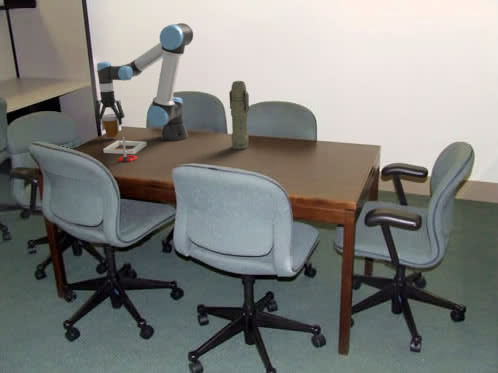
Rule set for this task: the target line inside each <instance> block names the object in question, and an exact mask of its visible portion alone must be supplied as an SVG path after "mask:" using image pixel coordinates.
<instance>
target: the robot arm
mask: <svg viewBox="0 0 498 373" xmlns="http://www.w3.org/2000/svg"><path fill="white" fill-rule="evenodd" d="M193 40H194V31H193V29H192V27H191V26H190V25H189V24H186V23H183V22H181V23H176V24H175V23H173V24H169V25H167V26H164V27H163V28H162V30H161V31H160V33H159V43H157V44H156V45H154V46H153V47H151V48H150V49H149V50H147V51H145V52H144V53H142V54H141V55H140V56H137V58H135V59H134V60H132V61H130V62H128V63H126V64H122V65H115V66H114V65H112V63H111V61H99V62H98V63H97V64H96V72H97V77H98V86H99V87H98V88H99V91H100V92H99V94H100V99H98V100H96V101H95V104H96V109H95V119H98V120H99V125H100V126H101V131H102V132H103V131H105V127H104V123H103V120H102V116H103V115H105V112H106V109H107V108H109V109H110V108H111V110H112V111H113V112H114V113H113V114H116V116H117V118H118V119H117V125H118V132H120V131H122V125H123V119H124V118H126V117H125V113H124V110H123V107H122V105H121V102H122V101H121V100H120V99H119V100H116V98H115V97H116V96H115V91H114V81H130V80H132V78H134V77H138V76H139V75H141V74H142V73H143V72H144V71H145V70H146V69H148V68H150V67H151V66H154V65H155V64H156V63H157V62H159V61H161V60H162V62H161V67H160V74H159V77H158V84H157V85H158V86H157V91H156V96H155V97H153V98H152V102H151V103H152V104H151V106H150V107H149V108H148V110H147V113H146V114H147V116H146V117H147V119H148V121H149V122H150V123H151V124H152V125H153V126H155V127H159V128H160V127H162V128H161V133H160V139H161V140H164V141H182V140H185V139H187V138H188V131H187V130H188V129H187V128H186V126H185V121H184V120H185V119H184V102H183V99H182V97H177V96H174V92H175V87H176V80H177V76H178V70H179V65H180V58H181V56H183V55H184V53H185V47H186V46H188V45H190V44H191V43H192V41H193ZM101 104H102V107H101Z"/></svg>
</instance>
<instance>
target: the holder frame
mask: <svg viewBox="0 0 498 373" xmlns="http://www.w3.org/2000/svg"><path fill="white" fill-rule="evenodd" d="M147 145H148V144H147V141H137V140H134V141H133V140H125V146H126V147H127V146H129V147H132V146H133V148H126V155H135V154H137V153H139V151H141V150H143V149H144V148H145V147H147ZM119 146H123V140H116V141H114V142H113V143H111V144H109V145H107V146H106V147H105V148H103V153H104V154H119V155H120V154H121V155H123V148H117V147H119Z"/></svg>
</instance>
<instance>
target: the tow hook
mask: <svg viewBox="0 0 498 373" xmlns="http://www.w3.org/2000/svg"><path fill="white" fill-rule="evenodd" d="M122 141H123V145H122V149H123V154H122V156H120V157H119V158H118V162H125V163H128V162H129V163H131V162H133V161H135V160H137V159H138V156H136V155H134V154H126V149H127V146H126V145H125V141H126V140H125V136H124V135H123V136H122Z"/></svg>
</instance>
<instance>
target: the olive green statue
mask: <svg viewBox="0 0 498 373" xmlns="http://www.w3.org/2000/svg"><path fill="white" fill-rule="evenodd" d="M228 94H229V109H230V117H231V125H232V127H231V128H232V129H231V130H232V131H231V148H232V149H233V150H246V149H249V133H248V115H249V114H248V113H249V110H250V109H249V108H250V105H249V103H250V102H249V100H250V99H249V98H250V97H249V96H250V95H249V92H248V91H247V86H246V83H245V82H244V81H243V80H235V81H233V82H232V84H231V88H230V90H229V93H228Z"/></svg>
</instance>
